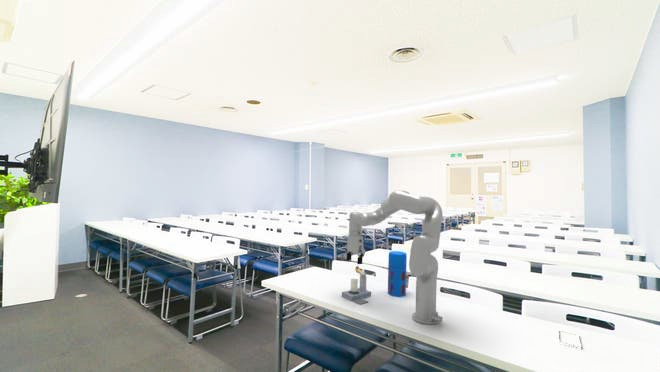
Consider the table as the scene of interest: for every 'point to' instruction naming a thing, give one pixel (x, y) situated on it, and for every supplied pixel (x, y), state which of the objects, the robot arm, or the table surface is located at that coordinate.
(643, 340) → the table surface
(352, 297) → the outlet block
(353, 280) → the plug
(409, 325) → the table surface
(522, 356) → the table surface
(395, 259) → the thermos
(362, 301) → the pad
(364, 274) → the clip
